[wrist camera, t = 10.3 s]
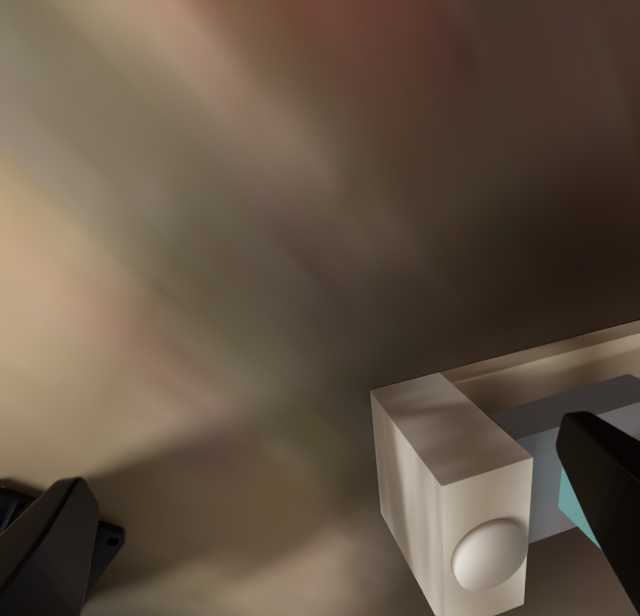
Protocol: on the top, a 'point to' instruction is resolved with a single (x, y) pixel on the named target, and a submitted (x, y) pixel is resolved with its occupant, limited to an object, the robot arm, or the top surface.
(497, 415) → the carriage
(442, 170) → the top surface
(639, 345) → the rail track
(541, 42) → the top surface
